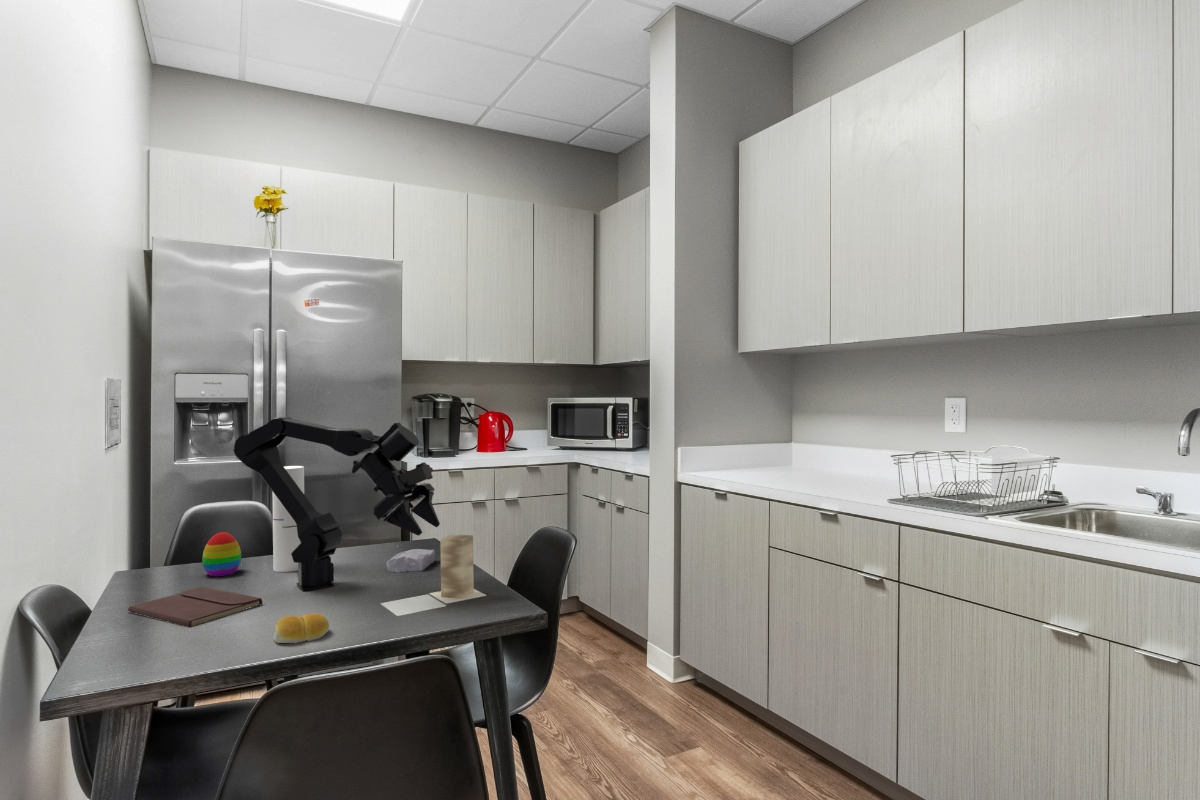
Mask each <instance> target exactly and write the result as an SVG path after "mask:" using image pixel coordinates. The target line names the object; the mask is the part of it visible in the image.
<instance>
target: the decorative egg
mask: <svg viewBox="0 0 1200 800" xmlns="http://www.w3.org/2000/svg"><path fill="white" fill-rule="evenodd" d="M241 561H242V551H241V547H240V544H239V543H238V541H237V539H236V538H235V537H234V536H233V535H232V534H231V533H229V532H224V531H220V532H218V533H216V534H214V535H213V536H211V538H210V539H209V540H208V542H207V543H206V544H205V546H204V549H203V553H202V566H203V569H204V571H205V573H207V575H208V576H210V577H225V576H230V575H232V574H235V572H237V570H238V568H239V567H240V565H241Z"/></svg>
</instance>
